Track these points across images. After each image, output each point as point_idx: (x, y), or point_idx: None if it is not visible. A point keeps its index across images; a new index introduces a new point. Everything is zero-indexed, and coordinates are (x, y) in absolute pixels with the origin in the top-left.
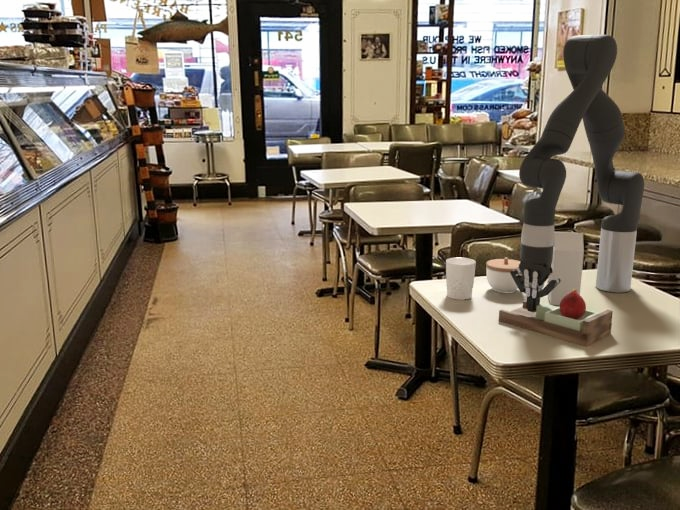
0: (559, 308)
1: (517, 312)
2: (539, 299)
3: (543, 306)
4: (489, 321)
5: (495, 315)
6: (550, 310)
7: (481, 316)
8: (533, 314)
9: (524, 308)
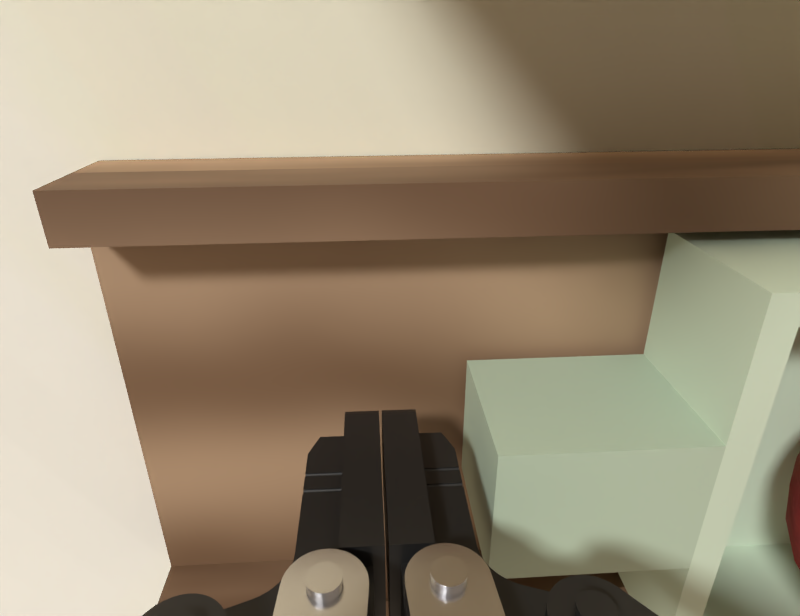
0: (746, 462)
1: (210, 425)
2: (475, 551)
3: (564, 551)
4: None
5: (71, 489)
6: (685, 592)
7: (31, 576)
8: (360, 363)
9: (154, 267)
